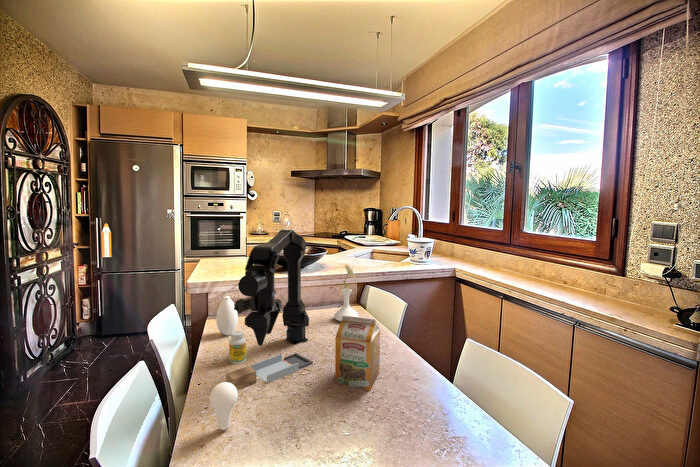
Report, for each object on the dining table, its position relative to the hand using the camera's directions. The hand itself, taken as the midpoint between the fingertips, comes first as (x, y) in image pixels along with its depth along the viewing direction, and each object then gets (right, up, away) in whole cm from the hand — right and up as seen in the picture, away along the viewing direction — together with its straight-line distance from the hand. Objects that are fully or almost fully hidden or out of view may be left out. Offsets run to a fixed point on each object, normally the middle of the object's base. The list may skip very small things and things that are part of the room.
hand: (264, 339), depth 102 cm
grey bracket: (+2, -11, +4) cm, 12 cm away
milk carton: (+28, -12, 0) cm, 31 cm away
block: (-6, -12, -4) cm, 14 cm away
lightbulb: (-4, -14, -23) cm, 27 cm away
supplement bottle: (-12, -11, +11) cm, 19 cm away
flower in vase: (+24, -8, +53) cm, 59 cm away
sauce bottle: (-23, -9, +34) cm, 42 cm away
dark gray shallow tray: (+9, -11, +10) cm, 17 cm away
